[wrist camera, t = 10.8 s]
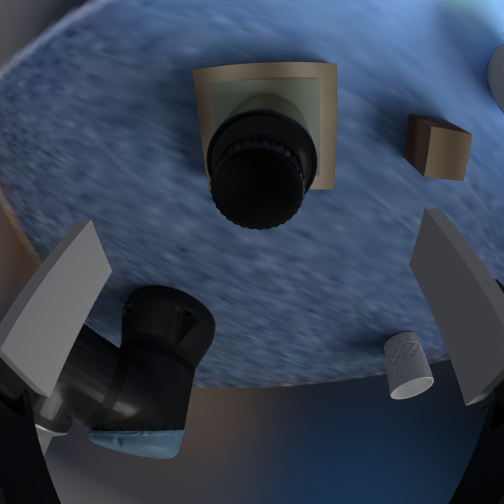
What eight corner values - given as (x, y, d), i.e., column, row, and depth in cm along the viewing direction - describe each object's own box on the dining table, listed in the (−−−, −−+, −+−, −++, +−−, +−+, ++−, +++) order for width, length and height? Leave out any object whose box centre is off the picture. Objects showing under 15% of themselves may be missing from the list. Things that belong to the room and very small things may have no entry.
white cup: (378, 337, 45) (389, 387, 37) (420, 323, 43) (436, 372, 35) (381, 358, 49) (390, 403, 42) (419, 346, 47) (431, 390, 39)
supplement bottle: (225, 93, 22) (182, 123, 12) (307, 94, 21) (333, 123, 12) (229, 167, 26) (198, 244, 16) (304, 168, 25) (320, 247, 16)
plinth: (214, 180, 30) (208, 193, 28) (200, 68, 23) (191, 69, 20) (328, 177, 29) (334, 190, 26) (329, 63, 22) (337, 63, 19)
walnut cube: (404, 158, 27) (424, 177, 23) (409, 114, 24) (431, 126, 20) (441, 162, 26) (463, 181, 22) (447, 120, 23) (472, 134, 19)
